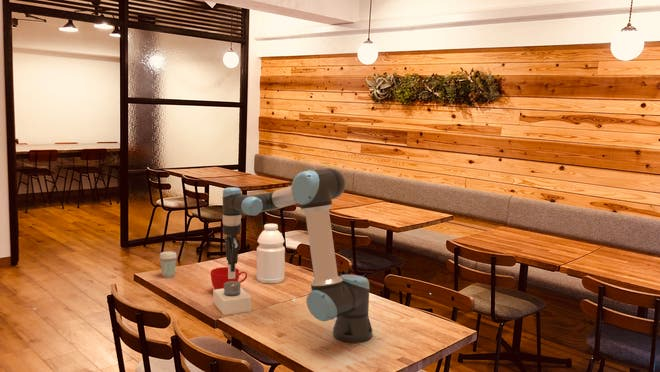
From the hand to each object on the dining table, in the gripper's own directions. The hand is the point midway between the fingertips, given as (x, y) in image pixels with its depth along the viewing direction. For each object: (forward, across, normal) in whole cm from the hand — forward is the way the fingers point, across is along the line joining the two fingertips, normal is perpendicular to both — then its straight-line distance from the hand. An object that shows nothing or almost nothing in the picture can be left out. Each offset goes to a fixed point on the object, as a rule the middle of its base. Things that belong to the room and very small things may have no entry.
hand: (231, 278), depth 247 cm
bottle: (+13, +29, -29) cm, 43 cm away
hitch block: (+13, 0, 0) cm, 13 cm away
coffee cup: (+13, +54, +16) cm, 58 cm away
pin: (+12, 0, 0) cm, 12 cm away
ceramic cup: (+13, +20, -5) cm, 25 cm away
